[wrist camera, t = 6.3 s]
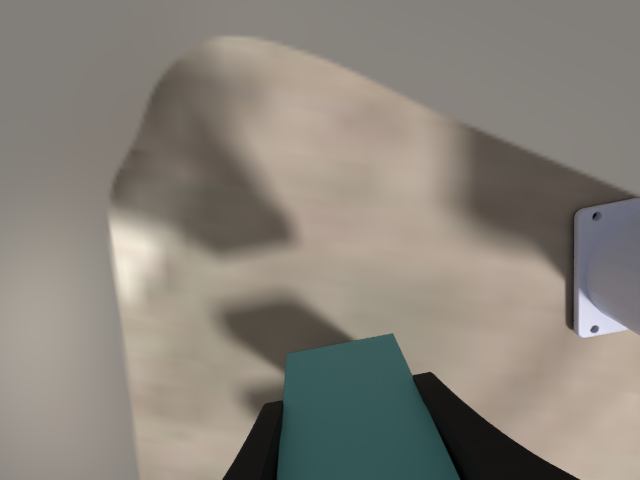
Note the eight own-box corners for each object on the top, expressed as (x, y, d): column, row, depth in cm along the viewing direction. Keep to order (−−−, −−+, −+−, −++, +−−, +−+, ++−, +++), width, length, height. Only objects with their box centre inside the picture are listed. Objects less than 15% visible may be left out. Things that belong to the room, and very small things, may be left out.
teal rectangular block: (398, 366, 15) (496, 604, 7) (294, 386, 15) (285, 643, 7) (392, 333, 15) (492, 548, 7) (286, 353, 15) (267, 590, 7)
